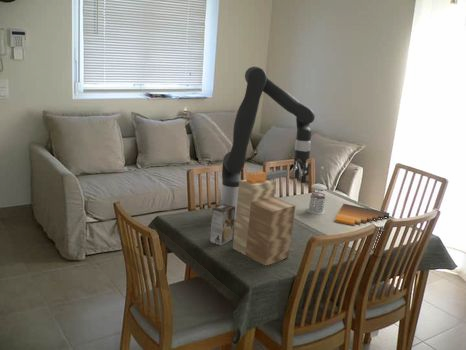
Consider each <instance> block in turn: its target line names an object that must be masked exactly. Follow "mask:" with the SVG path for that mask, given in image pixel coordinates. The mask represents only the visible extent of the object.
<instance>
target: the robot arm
mask: <svg viewBox="0 0 466 350" xmlns="http://www.w3.org/2000/svg"><path fill="white" fill-rule="evenodd" d="M244 74H245V75H244V78H245V81H246V88H245V89H246V90H245V93H244V97H243V100H242V101H241V102H240V105H239V107H238V109H237V112H236V115H235V120H234V123H233V134H232V135H233V137H232V144H231V145H232V146H231V149H230V151H229V152H227V153H226V154H225V155H224V157H223V160H222V171H221V172H222V173H221V178H222V179H221V180H222V183H221V194H220V195H221V196H220V198H219V201H218V203H219V204H218V206H219V205H221V204H227V205H231V206H234V207H235V215H234V221H235V220H236V210H237V200H238V190H239V181H240V180H242V178H241V172H242V170H243V169H244V168H245V163H246V157H247V156H246V155H247V151H248V146H249V144H250V139H251V136H252V132H253V129H254V125H255V123H256V119H257V113H258V110H259V104H260V100H261V97H262V95H263V93H264V94H266V95H267V96H268V97H270V98H271V100H273V101H274V102H275V103H277V104H278V105H279V106H280V107H281V108H282V109H284V110H285V111H287V112H289V113H290V114H291V115H294V116H295V121H296V137H295V144H294V156H293V157H294V158H293V164H292V165H293V167H292V168H293V170H294V177H293V178H294V179H295V180H299V179H300V184H306V182H307V181H306V180H307V179H306V178H307V177H308V176H309V175H310V174H309V171H310V163H309V162H308V163H307V160H309V159H310V157H311V156H310V155H311V147H312V146H311V145H312V144H311V140H312V139H311V138H312V130H311V128H310V124H312V123H313V122H314V121H315V117H316V116H315V113H314V111H313V110H312V109H311V108H309V107H308V106H306V105H304V103H301V102H300V101H299V100H298V99H297V98H295V97H294V96H293V95H292V94H290V93H289V92H288V91H286V90H284V89H283V88H282V87H280V86H279V85H277V84H276V83H274V82H273V81H272V80H271V79H270V78H269V77H268V76H267V73H266V71H265V70H264V69H263V68H261V67H258V66H251V67H249V68H248V69H247V70H246V71H245V73H244ZM300 174H301V176H300Z"/></svg>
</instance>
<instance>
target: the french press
mask: <svg viewBox="0 0 466 350" xmlns="http://www.w3.org/2000/svg"><path fill="white" fill-rule="evenodd" d="M324 168H325V167H324V166H320V168H319V169H320V170H321V172H320V175H322V173H323V170H324ZM319 180H320V181H319V182H321V180H322V177H320V179H319ZM311 188H312V189H314V190H313V191H312V192H311V194H310V198H309V199H310V200H309V205H308V208H307V209H306V211H307V212H308V213H310V214H314V215H324V214H325V213H326V211H325V210H324V208H325V200H326V197H325V196H326V195H325V193H323V192H320V191H325V190H327V189H328V187H327V186H326V185H324V184H321V183H314V184H311ZM315 190H318V191H315Z"/></svg>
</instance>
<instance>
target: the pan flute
mask: <svg viewBox="0 0 466 350" xmlns="http://www.w3.org/2000/svg"><path fill="white" fill-rule="evenodd" d="M337 212H338V213H336V216H335V218H334V222H336V223H341V224H346V225H351V226H355V225H356V224H358V225H361V224H362V223H363V224H367V222H369V221H372V222H373V221H375V220H379V219H378V218H382V219H383V220H384V219H385V218H384V217H387V218H388V219H389V218H390V212H387V211H381V210H378V209H372V208H367V207H362V206H357V205H351V204H347V203H343V204H342V206H341V207H340V209H339V211H337ZM387 218H386V219H387ZM373 219H375V220H373ZM382 219H381V220H382Z"/></svg>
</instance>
